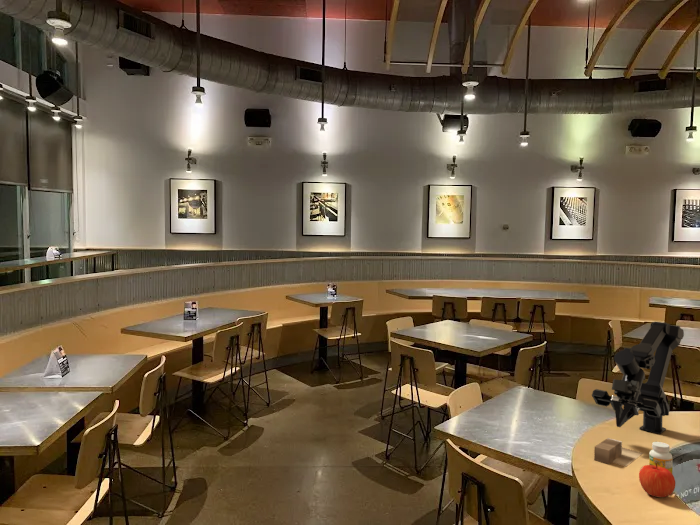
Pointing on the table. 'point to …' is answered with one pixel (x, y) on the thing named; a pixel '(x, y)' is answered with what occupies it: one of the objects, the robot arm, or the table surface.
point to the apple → (657, 480)
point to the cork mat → (627, 457)
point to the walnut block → (608, 450)
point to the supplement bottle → (661, 456)
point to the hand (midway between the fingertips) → (618, 426)
